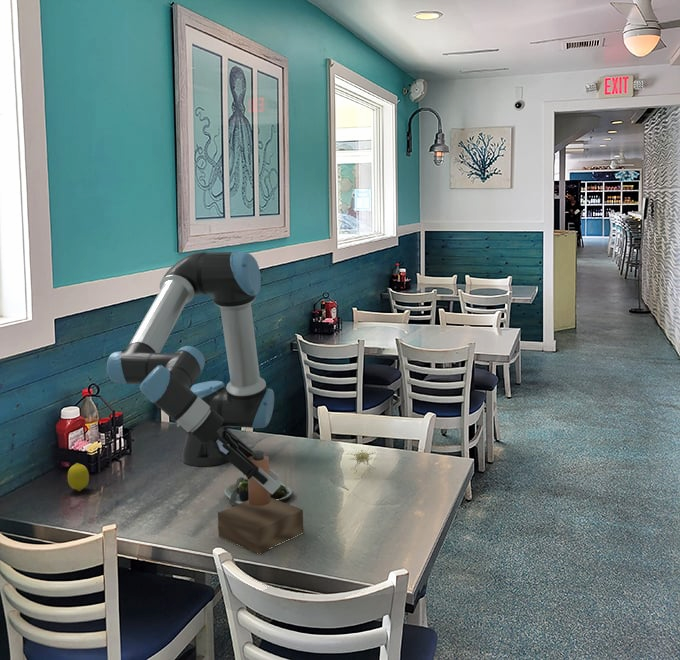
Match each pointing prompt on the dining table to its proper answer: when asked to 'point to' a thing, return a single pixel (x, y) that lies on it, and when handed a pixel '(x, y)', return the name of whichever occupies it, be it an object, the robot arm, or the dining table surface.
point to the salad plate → (240, 493)
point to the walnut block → (260, 524)
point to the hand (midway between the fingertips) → (275, 485)
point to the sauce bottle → (255, 490)
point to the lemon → (78, 477)
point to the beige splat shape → (362, 458)
